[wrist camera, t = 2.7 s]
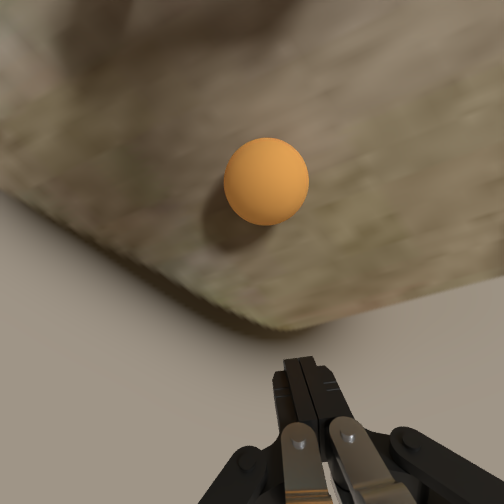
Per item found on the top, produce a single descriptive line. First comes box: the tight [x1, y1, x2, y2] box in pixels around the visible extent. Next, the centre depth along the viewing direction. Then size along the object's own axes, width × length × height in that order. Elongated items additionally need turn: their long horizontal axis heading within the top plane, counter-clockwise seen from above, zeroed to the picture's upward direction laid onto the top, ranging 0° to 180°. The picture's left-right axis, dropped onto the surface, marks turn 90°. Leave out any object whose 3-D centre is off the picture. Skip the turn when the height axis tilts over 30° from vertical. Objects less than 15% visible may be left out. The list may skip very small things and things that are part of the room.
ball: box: [224, 138, 309, 225], centre depth 19 cm, size 6×6×6 cm
